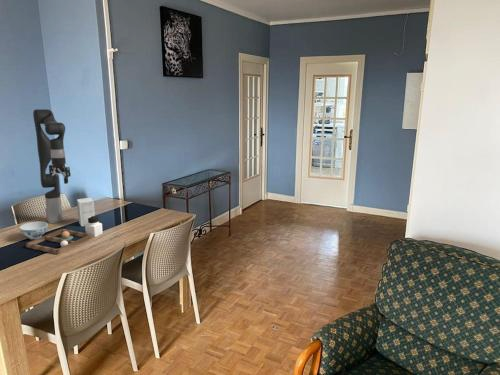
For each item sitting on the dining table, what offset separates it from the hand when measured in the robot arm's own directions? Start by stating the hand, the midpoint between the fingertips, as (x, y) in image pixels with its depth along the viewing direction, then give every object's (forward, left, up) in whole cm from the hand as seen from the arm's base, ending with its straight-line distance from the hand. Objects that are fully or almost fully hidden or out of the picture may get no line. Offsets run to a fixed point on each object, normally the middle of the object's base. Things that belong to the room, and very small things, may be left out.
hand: (60, 182), depth 229 cm
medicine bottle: (+17, +6, -33) cm, 38 cm away
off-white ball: (+15, -16, -33) cm, 40 cm away
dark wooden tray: (+8, -12, -33) cm, 36 cm away
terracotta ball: (+6, -6, -33) cm, 34 cm away
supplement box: (-2, +20, -33) cm, 39 cm away
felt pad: (+6, -6, -33) cm, 34 cm away
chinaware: (-12, -12, -33) cm, 37 cm away
